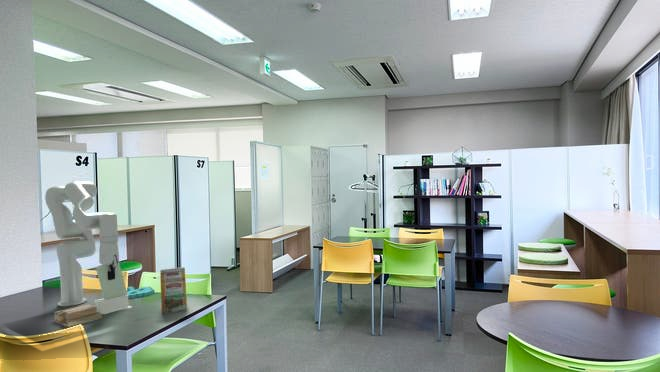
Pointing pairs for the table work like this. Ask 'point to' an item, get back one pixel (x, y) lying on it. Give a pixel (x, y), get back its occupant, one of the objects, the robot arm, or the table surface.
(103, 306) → the stand
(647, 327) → the table surface
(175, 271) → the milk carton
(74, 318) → the offcut lower
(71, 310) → the offcut upper
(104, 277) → the sheet
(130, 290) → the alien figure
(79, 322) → the rack
